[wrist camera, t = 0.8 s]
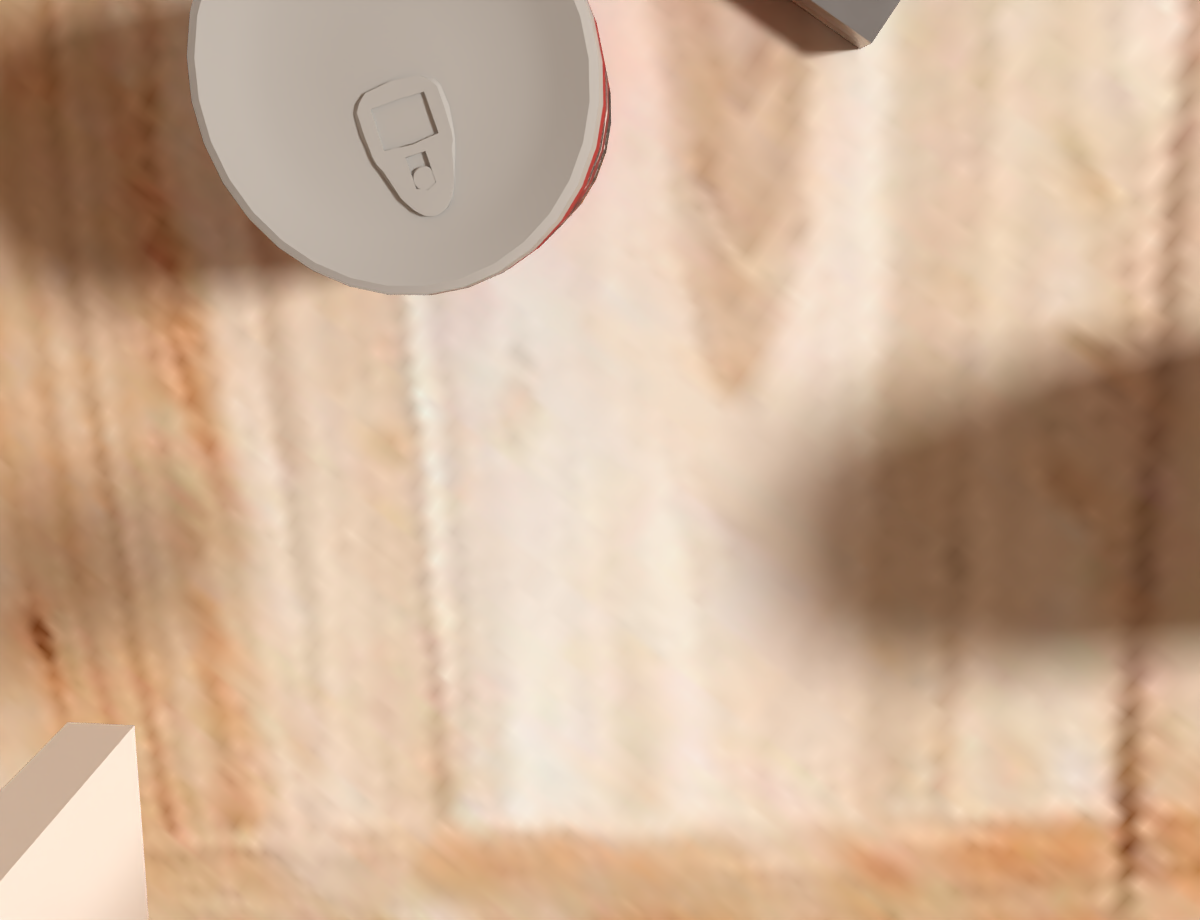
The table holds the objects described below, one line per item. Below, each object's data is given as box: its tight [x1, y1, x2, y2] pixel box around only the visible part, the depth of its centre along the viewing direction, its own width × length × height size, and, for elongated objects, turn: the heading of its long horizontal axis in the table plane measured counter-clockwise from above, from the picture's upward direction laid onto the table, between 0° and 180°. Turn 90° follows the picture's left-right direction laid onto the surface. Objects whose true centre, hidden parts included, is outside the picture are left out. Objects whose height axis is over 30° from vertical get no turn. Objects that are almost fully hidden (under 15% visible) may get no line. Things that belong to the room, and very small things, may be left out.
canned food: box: [187, 0, 611, 295], centre depth 25 cm, size 8×8×11 cm
